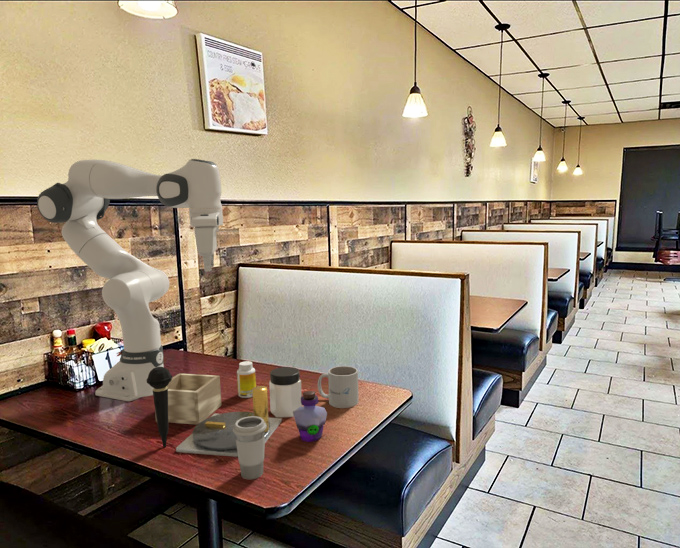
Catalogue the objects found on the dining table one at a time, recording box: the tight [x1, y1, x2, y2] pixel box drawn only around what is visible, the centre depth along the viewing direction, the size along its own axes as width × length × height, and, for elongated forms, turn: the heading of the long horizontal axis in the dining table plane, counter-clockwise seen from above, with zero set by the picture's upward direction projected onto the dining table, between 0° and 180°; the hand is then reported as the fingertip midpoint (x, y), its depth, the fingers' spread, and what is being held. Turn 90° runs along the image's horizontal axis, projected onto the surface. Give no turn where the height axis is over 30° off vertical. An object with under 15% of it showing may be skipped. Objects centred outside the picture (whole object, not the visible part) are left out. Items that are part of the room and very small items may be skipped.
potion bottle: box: [293, 390, 328, 443], centre depth 119 cm, size 9×9×12 cm
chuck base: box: [175, 412, 283, 458], centre depth 122 cm, size 20×20×1 cm
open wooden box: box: [154, 373, 222, 426], centre depth 136 cm, size 13×13×9 cm
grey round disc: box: [192, 385, 270, 450], centre depth 121 cm, size 19×19×12 cm
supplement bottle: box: [236, 360, 257, 399], centre depth 148 cm, size 6×6×10 cm
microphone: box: [147, 367, 173, 448], centre depth 116 cm, size 6×6×20 cm
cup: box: [233, 416, 267, 480], centre depth 103 cm, size 7×7×12 cm
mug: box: [317, 365, 359, 409], centre depth 141 cm, size 12×9×10 cm
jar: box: [268, 366, 303, 418], centre depth 135 cm, size 9×8×12 cm
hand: (209, 269), depth 135 cm, fingers open, 8 cm apart
